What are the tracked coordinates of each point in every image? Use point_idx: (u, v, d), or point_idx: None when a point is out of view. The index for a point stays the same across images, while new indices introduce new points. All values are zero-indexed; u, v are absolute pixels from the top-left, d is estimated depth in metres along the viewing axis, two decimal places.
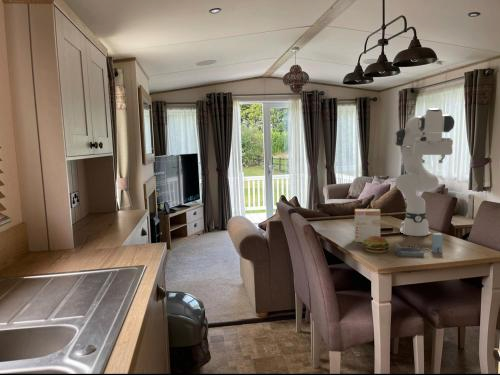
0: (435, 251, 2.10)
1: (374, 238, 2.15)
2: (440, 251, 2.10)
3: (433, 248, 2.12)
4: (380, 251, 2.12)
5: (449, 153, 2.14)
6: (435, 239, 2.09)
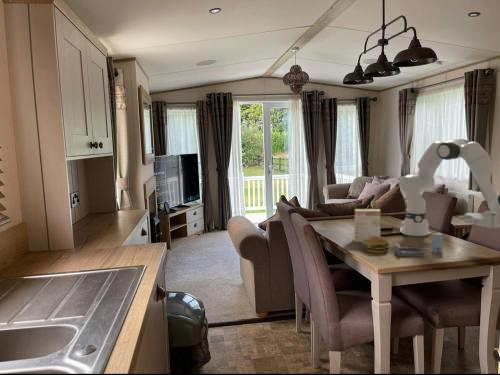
0: (435, 251, 2.10)
1: (374, 238, 2.15)
2: (440, 251, 2.10)
3: (433, 248, 2.12)
4: (380, 251, 2.12)
5: None
6: (435, 239, 2.09)
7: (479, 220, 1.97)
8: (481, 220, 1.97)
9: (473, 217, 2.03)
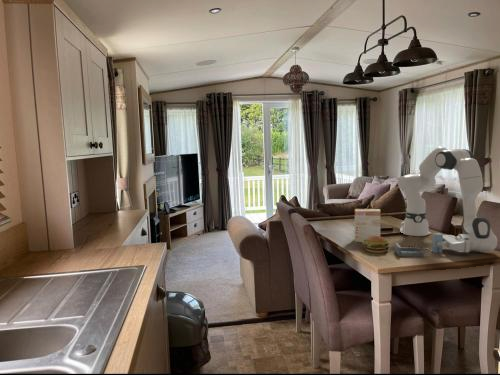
0: (435, 251, 2.10)
1: (374, 238, 2.15)
2: (440, 251, 2.10)
3: (433, 248, 2.12)
4: (380, 251, 2.12)
5: None
6: (435, 239, 2.09)
7: (452, 244, 2.01)
8: (454, 244, 2.00)
9: (446, 240, 2.07)
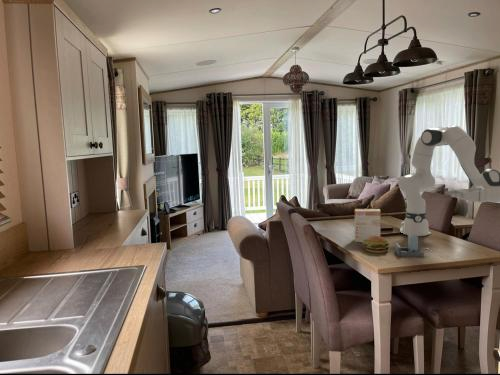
0: None
1: (374, 238, 2.15)
2: None
3: (409, 250, 2.08)
4: (380, 251, 2.12)
5: None
6: (410, 241, 2.06)
7: (466, 194, 1.95)
8: (468, 194, 1.95)
9: (460, 192, 2.01)
